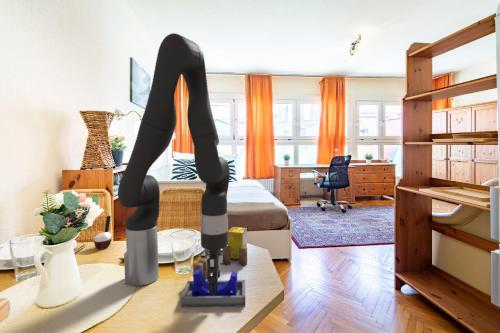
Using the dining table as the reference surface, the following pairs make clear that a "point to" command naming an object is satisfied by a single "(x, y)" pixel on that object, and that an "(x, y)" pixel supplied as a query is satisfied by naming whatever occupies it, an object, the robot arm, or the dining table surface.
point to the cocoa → (103, 237)
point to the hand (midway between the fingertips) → (215, 284)
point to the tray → (213, 297)
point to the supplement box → (236, 241)
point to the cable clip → (223, 290)
